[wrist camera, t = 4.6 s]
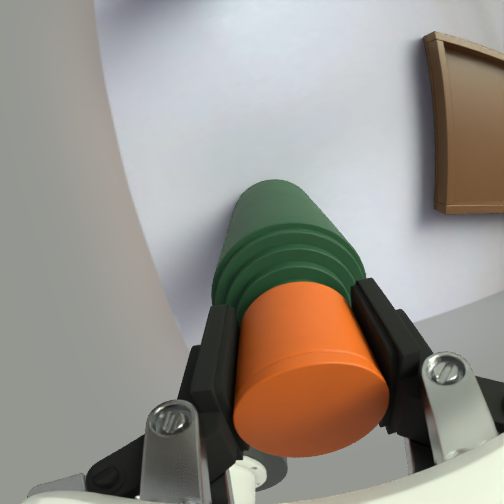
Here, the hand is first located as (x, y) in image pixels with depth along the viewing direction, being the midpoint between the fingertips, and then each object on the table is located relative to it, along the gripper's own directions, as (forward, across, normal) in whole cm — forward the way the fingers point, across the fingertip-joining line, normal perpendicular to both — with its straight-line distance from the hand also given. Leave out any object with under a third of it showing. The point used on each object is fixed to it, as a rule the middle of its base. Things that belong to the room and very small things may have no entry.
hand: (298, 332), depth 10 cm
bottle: (+15, 0, 0) cm, 15 cm away
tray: (+15, -22, -6) cm, 27 cm away
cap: (0, 0, 0) cm, 0 cm away
